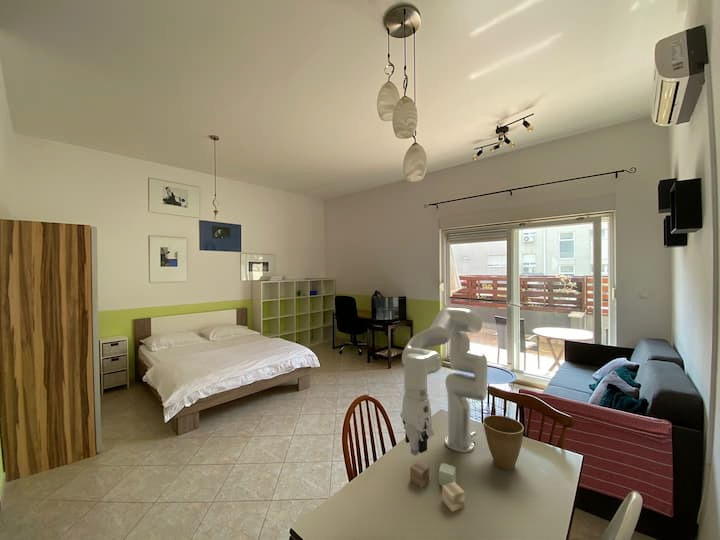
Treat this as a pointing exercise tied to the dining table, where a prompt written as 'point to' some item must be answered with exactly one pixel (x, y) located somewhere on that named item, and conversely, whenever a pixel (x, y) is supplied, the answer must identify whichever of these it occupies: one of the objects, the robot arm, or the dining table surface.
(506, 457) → the plant pot
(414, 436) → the lightbulb
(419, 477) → the walnut cube
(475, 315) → the robot arm
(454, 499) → the beech cube
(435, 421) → the dining table surface
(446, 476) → the sage cube
